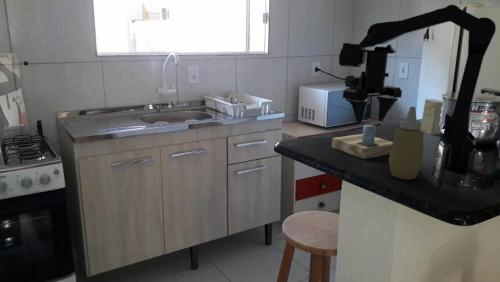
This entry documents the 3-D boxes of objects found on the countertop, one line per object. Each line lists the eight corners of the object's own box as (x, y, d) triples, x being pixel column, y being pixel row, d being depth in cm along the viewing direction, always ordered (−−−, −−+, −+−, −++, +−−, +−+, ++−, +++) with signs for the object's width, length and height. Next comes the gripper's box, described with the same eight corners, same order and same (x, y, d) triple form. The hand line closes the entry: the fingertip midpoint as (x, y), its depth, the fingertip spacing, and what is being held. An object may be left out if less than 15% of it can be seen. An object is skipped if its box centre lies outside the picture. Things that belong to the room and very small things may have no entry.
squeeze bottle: (381, 175, 106) (389, 106, 102) (396, 169, 112) (404, 103, 107) (411, 184, 101) (422, 111, 96) (425, 177, 106) (436, 107, 102)
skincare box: (419, 131, 157) (424, 99, 154) (429, 130, 158) (434, 98, 155) (431, 135, 151) (436, 102, 148) (441, 134, 152) (446, 101, 149)
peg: (375, 152, 125) (378, 126, 123) (367, 154, 123) (370, 128, 121) (366, 149, 128) (369, 124, 125) (358, 151, 126) (361, 125, 124)
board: (396, 152, 127) (397, 143, 126) (363, 159, 120) (364, 149, 119) (363, 142, 138) (364, 133, 137) (331, 147, 131) (332, 138, 130)
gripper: (376, 65, 130) (371, 114, 134) (331, 66, 121) (327, 119, 125) (406, 69, 121) (399, 121, 125) (360, 70, 111) (354, 127, 116)
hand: (369, 122), depth 123 cm, fingers open, 9 cm apart
